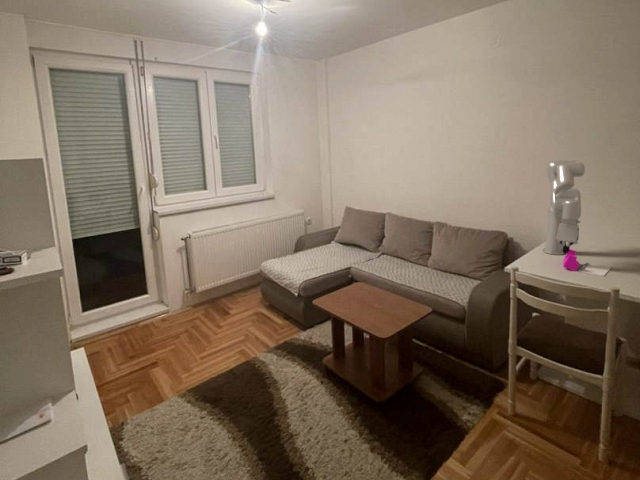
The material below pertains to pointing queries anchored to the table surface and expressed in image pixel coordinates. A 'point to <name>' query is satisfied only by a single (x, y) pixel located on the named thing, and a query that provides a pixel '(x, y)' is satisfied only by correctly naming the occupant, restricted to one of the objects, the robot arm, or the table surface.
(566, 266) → the toy block
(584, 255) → the table surface
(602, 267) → the mat
